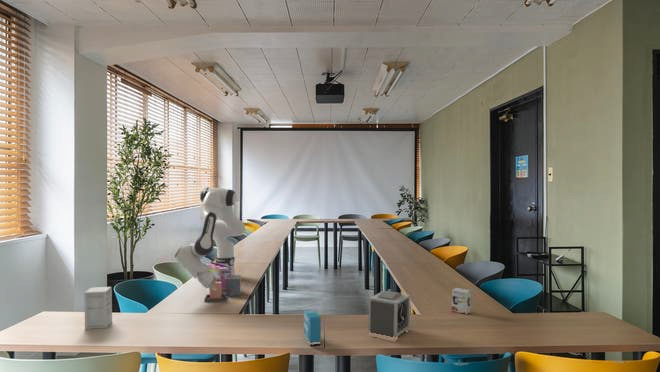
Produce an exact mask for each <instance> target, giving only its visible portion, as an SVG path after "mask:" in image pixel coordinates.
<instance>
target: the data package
mask: <svg viewBox="0 0 660 372" xmlns="http://www.w3.org/2000/svg"><path fill="white" fill-rule="evenodd" d="M321 318H322V317H321V315H319V314H318V312H317V311H316V310H315V309H310V310H308V309H307V310H304V311H303V336H304V335H305V337H306V338H307V339H308V341H309V342H310V343H313V342H322V332H321V331H322V319H321Z"/></svg>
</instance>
